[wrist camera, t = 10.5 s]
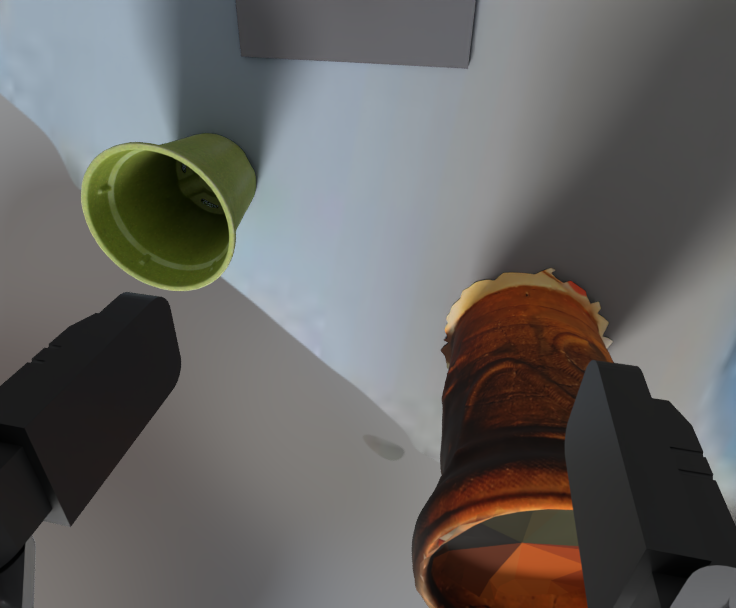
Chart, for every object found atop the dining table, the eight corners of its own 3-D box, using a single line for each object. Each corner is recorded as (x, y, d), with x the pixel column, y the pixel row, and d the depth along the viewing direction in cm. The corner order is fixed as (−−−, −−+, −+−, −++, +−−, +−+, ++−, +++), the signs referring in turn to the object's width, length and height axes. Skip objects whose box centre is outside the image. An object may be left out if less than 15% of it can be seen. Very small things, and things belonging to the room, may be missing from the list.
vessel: (674, 327, 38) (809, 610, 22) (543, 431, 46) (571, 692, 30) (512, 226, 36) (530, 454, 20) (405, 353, 44) (356, 587, 28)
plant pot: (161, 85, 35) (81, 117, 28) (293, 137, 36) (247, 181, 28) (150, 206, 40) (80, 259, 33) (264, 250, 41) (220, 312, 34)
